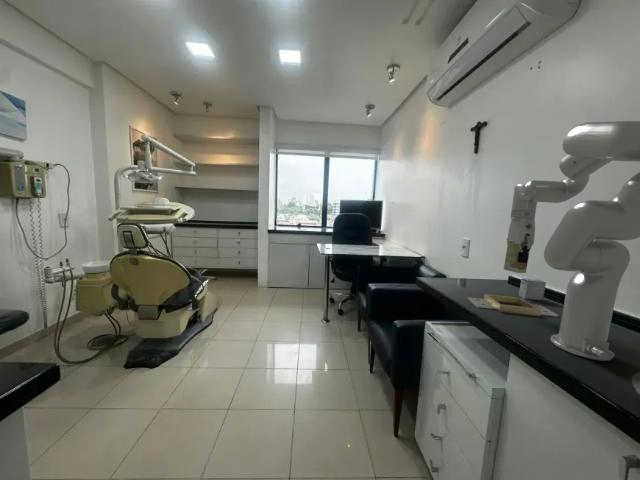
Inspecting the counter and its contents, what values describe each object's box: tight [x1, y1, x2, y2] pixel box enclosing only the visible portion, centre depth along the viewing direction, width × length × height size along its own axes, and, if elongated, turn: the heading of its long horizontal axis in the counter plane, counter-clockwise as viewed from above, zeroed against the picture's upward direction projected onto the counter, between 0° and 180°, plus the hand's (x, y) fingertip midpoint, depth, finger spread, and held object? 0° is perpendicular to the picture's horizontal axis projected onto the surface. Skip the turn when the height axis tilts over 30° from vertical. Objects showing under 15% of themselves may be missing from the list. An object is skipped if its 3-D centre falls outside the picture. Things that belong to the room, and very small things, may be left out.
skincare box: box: [503, 240, 530, 274], centre depth 105 cm, size 6×4×12 cm
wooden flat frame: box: [467, 293, 559, 318], centre depth 107 cm, size 14×28×2 cm, turn 79°
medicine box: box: [518, 277, 547, 301], centre depth 121 cm, size 8×4×9 cm, turn 84°
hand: (516, 260), depth 105 cm, fingers closed on skincare box, 7 cm apart
